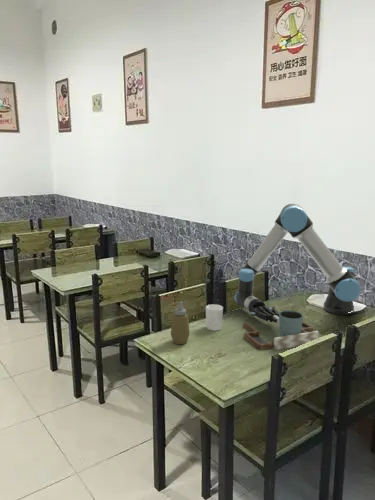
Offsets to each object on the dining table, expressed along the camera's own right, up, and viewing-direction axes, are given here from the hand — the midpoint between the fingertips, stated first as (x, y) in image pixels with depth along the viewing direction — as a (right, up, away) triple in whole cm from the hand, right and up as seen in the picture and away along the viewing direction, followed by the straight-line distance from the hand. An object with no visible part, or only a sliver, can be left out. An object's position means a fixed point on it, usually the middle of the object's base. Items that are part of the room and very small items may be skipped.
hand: (282, 323), depth 183 cm
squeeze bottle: (-45, -7, -6) cm, 46 cm away
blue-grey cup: (+2, -7, -3) cm, 8 cm away
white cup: (-30, -4, +9) cm, 31 cm away
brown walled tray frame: (-1, -5, +4) cm, 7 cm away
